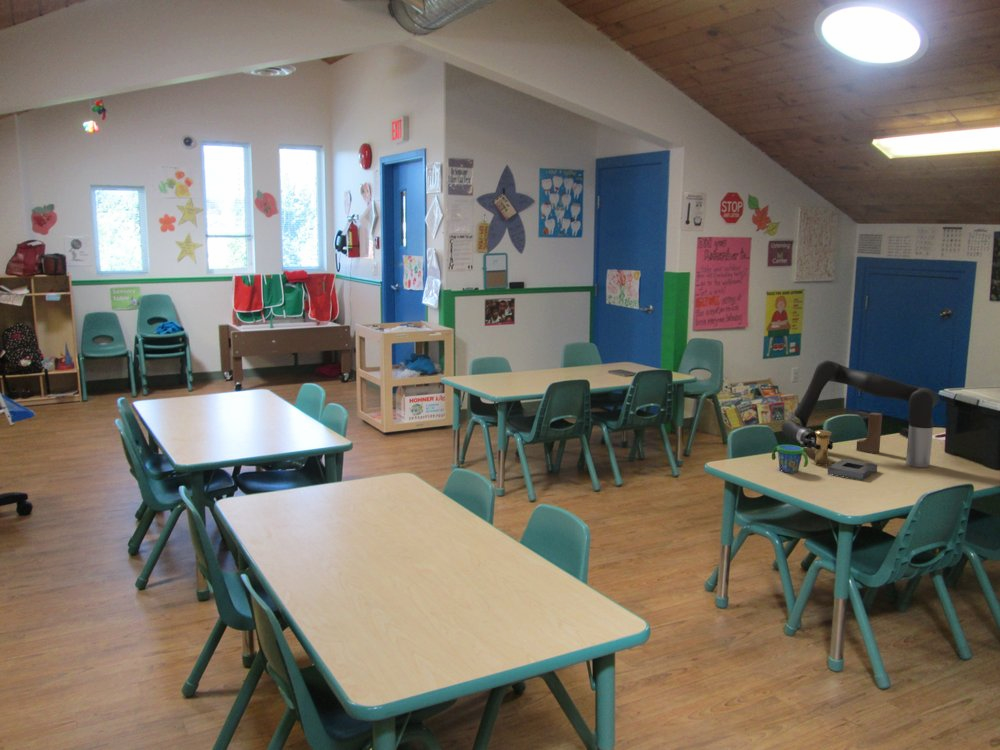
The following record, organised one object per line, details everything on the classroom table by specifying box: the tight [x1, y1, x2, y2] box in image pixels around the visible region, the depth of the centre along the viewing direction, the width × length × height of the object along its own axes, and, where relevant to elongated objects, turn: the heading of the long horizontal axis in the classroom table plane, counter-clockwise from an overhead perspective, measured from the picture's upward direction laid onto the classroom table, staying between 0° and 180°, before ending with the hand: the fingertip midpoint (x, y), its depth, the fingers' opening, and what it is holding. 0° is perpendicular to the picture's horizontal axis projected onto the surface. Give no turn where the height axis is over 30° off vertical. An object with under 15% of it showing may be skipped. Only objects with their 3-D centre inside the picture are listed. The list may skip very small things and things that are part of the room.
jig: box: [827, 458, 878, 481], centre depth 352 cm, size 18×14×3 cm
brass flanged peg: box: [814, 429, 832, 466], centre depth 365 cm, size 7×7×14 cm
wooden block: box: [855, 412, 883, 455], centre depth 386 cm, size 9×4×18 cm, turn 47°
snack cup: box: [771, 444, 809, 473], centre depth 354 cm, size 16×10×10 cm
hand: (825, 447), depth 362 cm, fingers closed on brass flanged peg, 5 cm apart
